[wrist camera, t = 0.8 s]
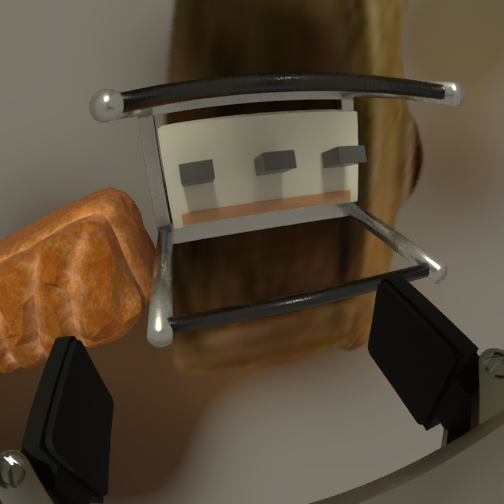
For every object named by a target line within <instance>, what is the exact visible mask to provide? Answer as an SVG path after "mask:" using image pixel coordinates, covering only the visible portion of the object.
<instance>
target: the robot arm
mask: <svg viewBox="0 0 504 504" xmlns="http://www.w3.org/2000/svg"><path fill="white" fill-rule="evenodd" d="M368 350H369V353H370V355H371V357H372V358H373V360H374V361H375V362H376V364H377V365H378V367H379V368H380V369H381V371H382V372H383V374H384V375H385V377H386V378H387V380H388V381H389V382H390V384H391V385H392V387H393V388H394V390H395V391H396V392H397V394H398V395H399V397H400V398H401V400H402V401H403V403H404V404H405V406H406V407H407V408H408V410H409V412H410V413H411V415H412V416H413V417H414V419H415V420H416V421H417V423H418V424H420V425H422V424H423V426H424V427H425V429H426V430H429V429H431V428H433V427H434V426H436V425H438V424H440V423H441V425H442V426H443V427H444V429H443V437H442V443H441V448H440V449H438V450H436V451H434V452H433V453H431V454H429V455H427V456H425V457H423V458H421V459H419V460H418V461H416V462H414V463H412V464H410V465H408V466H406V467H403V468H401V469H399V470H397V471H395V472H393V473H391V474H388V475H386V476H384V477H381V478H379V479H377V480H375V481H372V482H370V483H367V484H365V485H363V486H360V487H357V488H354V489H352V490H349V491H346V492H343V493H341V494H338V495H335V496H332V497H329V498H326V499H323V500H320V501H316V502H313V503H310V504H504V350H502V349H498V348H491V349H487V350H485V351H484V352H482V354H481V355H480V356H479V355H478V354H477V350H478V347H477V346H476V345H475V344H474V343H472V341H471V340H470V339H468V337H466V335H464V333H462V332H461V331H460V330H459V329H458V328H457V327H456V326H455V325H454V324H453V323H452V322H451V321H450V320H449V319H448V318H447V317H446V316H445V315H443V313H442V312H440V310H439V309H437V308H436V307H435V306H434V305H433V304H432V303H431V302H430V301H429V300H428V299H427V298H425V297H424V296H423V295H422V294H421V293H420V292H419V291H418V290H417V289H416V288H415V287H413V286H412V285H411V284H410V283H409V282H408V281H407V280H406V279H405V278H403V277H402V276H401V275H393V276H389V277H386V278H383V279H382V281H381V283H380V284H378V286H377V292H376V299H375V306H374V312H373V319H372V325H371V330H370V336H369V342H368ZM112 417H113V399H112V396H111V395H110V393H109V391H108V390H107V388H106V386H105V384H104V383H103V381H102V379H101V377H100V375H99V373H98V372H97V370H96V368H95V366H94V364H93V362H92V361H91V359H90V357H89V355H88V353H87V351H86V349H85V347H84V345H83V343H82V341H81V340H77V339H76V337H75V336H64V337H57V338H56V339H55V341H54V344H53V347H52V349H51V352H50V354H49V357H48V360H47V363H46V365H45V368H44V371H43V374H42V377H41V380H40V383H39V386H38V389H37V392H36V395H35V398H34V401H33V404H32V408H31V411H30V415H29V418H28V422H27V425H26V429H25V433H24V437H23V441H22V445H21V446H22V450H21V452H19V451H15V450H9V451H6V452H4V453H2V454H0V504H89V503H103V496H105V495H107V492H108V472H109V454H110V453H109V452H110V439H111V427H112Z"/></svg>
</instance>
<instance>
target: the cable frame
mask: <svg viewBox="0 0 504 504" xmlns="http://www.w3.org/2000/svg"><path fill="white" fill-rule="evenodd" d="M353 97H368V98H387V99H402V100H414V101H425V102H433V103H441V104H448V105H456V106H461V105H463V104H464V102H465V99H466V93H465V90H464V88H463V86H462V85H461V84H460V83H456V82H438V81H417V80H409V79H402V78H394V77H385V76H375V75H362V74H347V73H320V72H287V73H259V74H243V75H231V76H220V77H211V78H202V79H194V80H187V81H180V82H174V83H168V84H162V85H156V86H151V87H146V88H141V89H136V90H131V91H126V92H119V91H115V90H111V89H103V90H101V91H99V92H97V93H96V94H95V95H94V96H93V97H92V99H91V101H90V105H89V110H90V114H91V116H92V117H93V118H94V119H95V120H97V121H99V122H109V121H114V120H119V119H124V118H128V117H134V116H138V120H139V127H140V134H141V141H142V147H143V153H144V159H145V166H146V171H147V177H148V183H149V188H150V193H151V198H152V204H153V209H154V214H155V219H156V224H157V229H158V233H159V234H158V241H157V248H156V255H155V262H154V270H153V279H152V287H151V297H150V306H149V318H148V329H147V339H148V342H149V343H150V344H151V345H153V346H155V347H166V346H168V345H170V344H171V342H172V340H173V333H179V332H185V331H191V330H197V329H202V328H208V327H214V326H219V325H225V324H230V323H235V322H241V321H246V320H251V319H256V318H261V317H266V316H271V315H275V314H280V313H285V312H290V311H294V310H299V309H303V308H308V307H312V306H316V305H321V304H325V303H329V302H333V301H338V300H342V299H346V298H350V297H354V296H358V295H362V294H366V293H370V292H373V291H377V286H378V284H380V283H381V281H382V279H383V278H386V277H389V276H393V275H401V276H402V277H403V278H405V279H406V280H407V281H408V282H410V281H414V280H417V279H421V278H424V277H428V278H429V279H430V280H432V281H433V282H434V283H436V284H438V283H440V282H442V281H443V280H444V279H445V277H446V275H447V267H446V266H445V265H444V264H443V263H441V262H440V261H439V260H437V259H436V258H435V257H433V256H432V255H430V254H429V253H428V252H426V251H425V250H424V249H422V248H420V247H419V246H418V245H417V244H415V243H414V242H412V241H411V240H409V239H408V238H407V237H405V236H404V235H402V234H401V233H399V232H398V231H397V230H395V229H394V228H392V227H391V226H389V225H388V224H386V223H385V222H383V221H382V220H380V219H379V218H377V217H376V216H374V215H373V214H371V213H370V212H368V211H367V210H365V209H364V208H362V207H361V206H359V205H357V204H356V203H354V202H347V203H339V204H331V205H324V206H317V207H309V208H302V209H295V210H288V211H281V212H275V213H268V214H261V215H255V216H248V217H242V218H236V219H229V220H223V221H217V222H211V223H205V224H199V225H193V226H187V227H181V228H176V229H174V226H173V221H171V219H170V214H169V208H168V203H167V197H166V192H165V186H164V180H163V174H162V168H161V161H160V155H159V148H158V141H157V135H156V127H155V121H154V115H159V114H165V113H171V112H177V111H183V110H190V109H197V108H204V107H212V106H221V105H230V104H240V103H251V102H264V101H281V100H306V99H337V108H338V110H345V111H354V106H353ZM344 216H350V217H351V218H353V219H354V220H355V221H357V222H358V223H359V224H361V225H362V226H363V227H365V228H366V229H367V230H369V231H370V232H371V233H373V234H374V235H375V236H377V237H378V238H379V239H381V240H382V241H383V242H384V243H386V244H387V245H388V246H390V247H391V248H392V249H393V250H395V251H396V252H397V253H398V254H400V255H401V256H402V257H404V258H405V259H406V260H407V261H408V262H410V263H411V264H412V265H413V266H412V267H408V268H404V269H400V270H396V271H392V272H388V273H384V274H380V275H376V276H371V277H367V278H363V279H359V280H354V281H350V282H346V283H341V284H337V285H332V286H328V287H323V288H319V289H314V290H310V291H305V292H300V293H295V294H291V295H286V296H281V297H276V298H271V299H266V300H261V301H256V302H251V303H245V304H240V305H235V306H229V307H224V308H218V309H213V310H207V311H201V312H196V313H190V314H184V315H178V316H172V279H173V244H176V243H182V242H188V241H194V240H199V239H205V238H211V237H217V236H223V235H229V234H235V233H241V232H247V231H254V230H260V229H266V228H272V227H279V226H285V225H291V224H298V223H304V222H311V221H317V220H324V219H331V218H337V217H344Z"/></svg>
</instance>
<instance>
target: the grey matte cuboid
mask: <svg viewBox="0 0 504 504" xmlns="http://www.w3.org/2000/svg"><path fill="white" fill-rule="evenodd" d="M322 159H323V166H324V168H334V167H346V166H352V165H356V164H360V163H364V162H367V160H366V153H365V147H364V145H357V146H338V147H335V148H333V149H330V150H328V151H325V152H323V153H322Z"/></svg>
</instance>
